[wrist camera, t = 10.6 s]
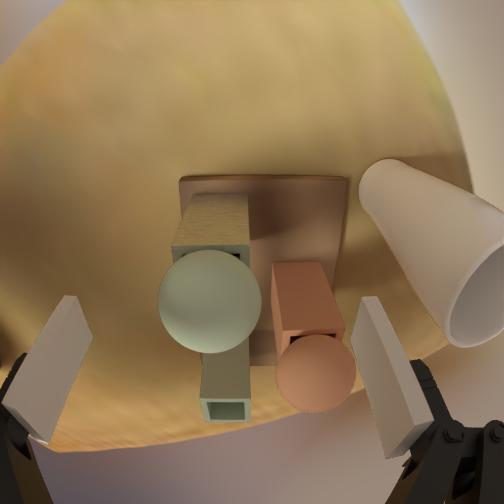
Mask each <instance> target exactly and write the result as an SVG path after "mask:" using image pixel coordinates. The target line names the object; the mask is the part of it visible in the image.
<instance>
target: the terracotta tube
mask: <svg viewBox="0 0 504 504" xmlns="http://www.w3.org/2000/svg"><path fill="white" fill-rule="evenodd" d="M271 307H272V315H273V323H274V332H275V340H276V348H277V357H278V361H279V358H280V357H281V355H282V353H283V352H284V351H285V349H286V348H287V347H288V346H289V345H290V344H292V343H293V342H294V341H296V340H297V339H299V338H302V337H304V336H308V335H314V334H320V335H327V336H330V337H333V338H335V339H337V340H339V341H340V342H341V341H342V337H343V334H344V330H345V325H344V323H343V320H342V317H341V315H340V312H339V309H338V307H337V304H336V301H335V299H334V296H333V294H332V291H331V288H330V286H329V283H328V281H327V278H326V276H325V273H324V271H323V268H322V266H321V263H320V262H274V263H272V283H271Z"/></svg>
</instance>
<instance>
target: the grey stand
mask: <svg viewBox="0 0 504 504" xmlns="http://www.w3.org/2000/svg"><path fill="white" fill-rule="evenodd" d="M171 248H172V255H173V262H174V263H175V262H176V261H178V260H179V259H180V258H182V257H184V256H185V255H187V254H190V253H193V252H196V251H201V250H218V251H222V252H226V253H228V254H231V255H233V256H235V257H236V258H238V259H239V260H241V261H242V262H243V263H244V264H245V265H246V266H247V267H248V268H249V269H250V238H249V217H248V197H247V193H208V194H193V195H192V197H191V200H190V202H189V204H188V207H187V209H186V211H185V214H184V216H183V218H182V221H181V223H180V226H179V228H178V230H177V233H176V235H175V238H174V240H173V243H172V245H171Z"/></svg>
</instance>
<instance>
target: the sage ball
mask: <svg viewBox="0 0 504 504" xmlns="http://www.w3.org/2000/svg"><path fill="white" fill-rule="evenodd" d="M158 309H159V314H160V317H161V320H162V322H163V324H164V326H165V328H166V330H167V331H168V332H169V334H170V335H171V336H172V337H173V338H174V339H175V340H176V341H177V342H179V343H180V344H181V345H183V346H185V347H186V348H189V349H191V350H194V351H197V352H202V353H219V352H224V351H227V350H229V349H232V348H234V347H236V346H237V345H239V344H240V343H241V342H243V341H244V340H245V339H246V338H247V337H248V336H249V335H250V334H251V332H252V331H253V329H254V328H255V326H256V324H257V322H258V319H259V316H260V312H261V293H260V288H259V285H258V282H257V280H256V278H255V276H254V274H253V273H252V272H251V270H250V269H249V268H248V267H247V266H246V265H245V264H244V263H243V262H242V261H241V260H239V259H238V258H236V257H235V256H233V255H231V254H228V253H226V252H222V251H218V250H201V251H196V252H193V253H190V254H187V255H185V256H184V257H182V258H180V259H179V260H178V261H176V262H175V263H174V264H173V265H172V266H171V267H170V269H169V270H168V271H167V272H166V274H165V276H164V277H163V280H162V282H161V285H160V288H159V293H158Z"/></svg>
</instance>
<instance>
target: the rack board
mask: <svg viewBox="0 0 504 504" xmlns="http://www.w3.org/2000/svg"><path fill="white" fill-rule="evenodd" d="M346 189H347V180H346V179H345V178H343V177H336V176H304V175H229V176H197V177H181V179H180V180H179V192H180V203H181V213H182V218H183V216H184V214H185V211H186V209H187V207H188V204H189V202H190V200H191V197H192V195H193V194H208V193H247V197H248V217H249V238H250V270H251V272H252V273H253V274H254V276H255V278H256V280H257V282H258V285H259V288H260V293H261V312H260V316H259V319H258V322H257V324H256V326H255V328H254V329H253V331H252V332H251V334H250V335H249V363H250V366H262V365H277V364H278V357H277V348H276V340H275V332H274V323H273V315H272V307H271V283H272V263H274V262H320V263H321V266H322V268H323V271H324V273H325V276H326V278H327V281H328V283H329V286H330V288H331V291H332V288H333V282H334V276H335V270H336V264H337V257H338V251H339V244H340V237H341V230H342V222H343V215H344V207H345V198H346ZM200 354H201V360H202V366H203V359H204V353H202V352H200Z"/></svg>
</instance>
